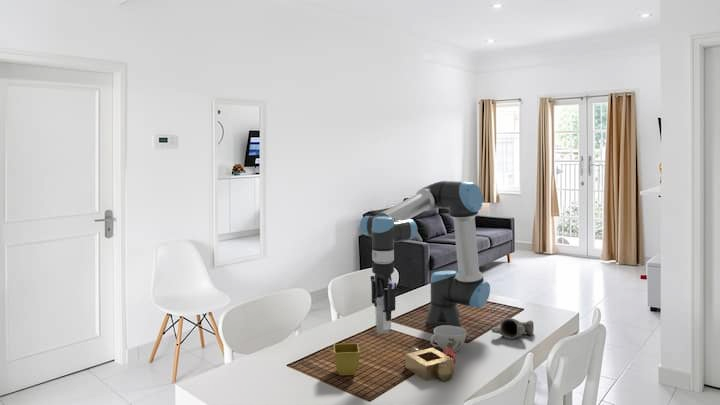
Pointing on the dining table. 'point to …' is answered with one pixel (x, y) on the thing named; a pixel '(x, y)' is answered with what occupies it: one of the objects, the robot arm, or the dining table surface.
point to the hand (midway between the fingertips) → (383, 326)
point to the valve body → (431, 363)
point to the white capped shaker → (380, 315)
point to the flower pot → (346, 358)
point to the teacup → (449, 337)
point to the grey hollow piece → (513, 328)
